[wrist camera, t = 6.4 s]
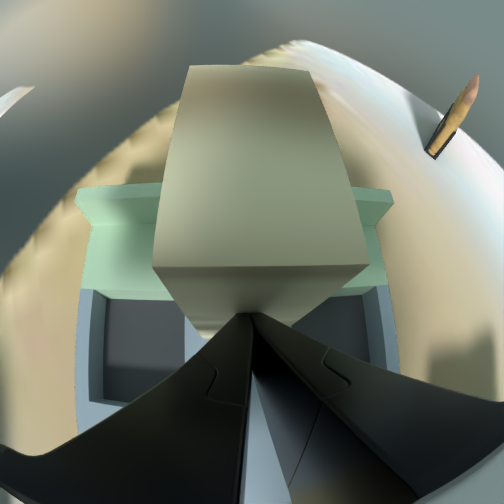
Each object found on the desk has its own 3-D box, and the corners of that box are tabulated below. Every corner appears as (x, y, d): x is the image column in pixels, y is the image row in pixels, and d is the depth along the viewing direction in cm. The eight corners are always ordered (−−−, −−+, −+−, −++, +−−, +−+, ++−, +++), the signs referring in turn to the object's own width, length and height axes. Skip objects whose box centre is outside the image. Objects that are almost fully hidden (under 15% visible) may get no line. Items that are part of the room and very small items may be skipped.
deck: (382, 464, 14) (426, 483, 9) (101, 477, 12) (65, 503, 7) (358, 229, 21) (389, 190, 16) (107, 230, 19) (78, 188, 14)
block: (275, 336, 15) (370, 264, 5) (202, 338, 15) (151, 266, 5) (267, 225, 18) (308, 71, 8) (204, 225, 17) (189, 66, 7)
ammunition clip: (434, 160, 27) (484, 92, 16) (423, 151, 27) (470, 81, 16) (447, 132, 31) (484, 78, 20) (438, 124, 31) (473, 69, 20)
